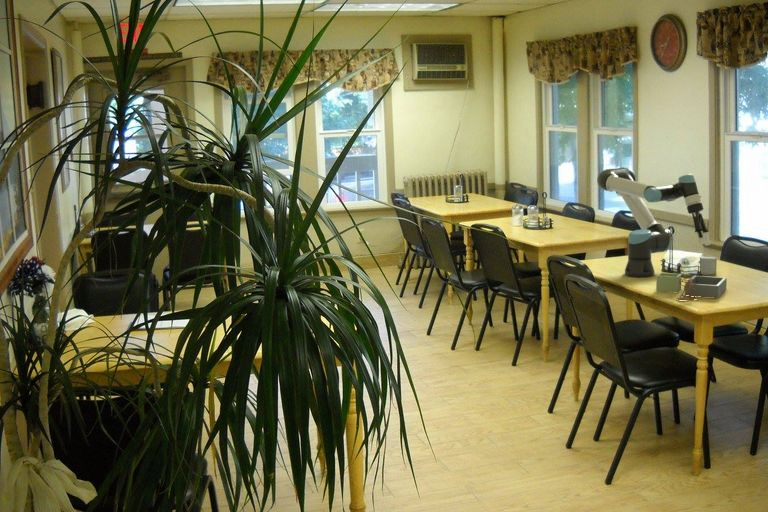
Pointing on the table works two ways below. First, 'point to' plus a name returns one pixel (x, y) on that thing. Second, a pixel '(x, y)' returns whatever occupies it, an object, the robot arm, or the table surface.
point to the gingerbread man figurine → (687, 289)
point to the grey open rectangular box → (707, 286)
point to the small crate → (668, 282)
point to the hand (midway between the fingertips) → (705, 244)
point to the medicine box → (708, 265)
